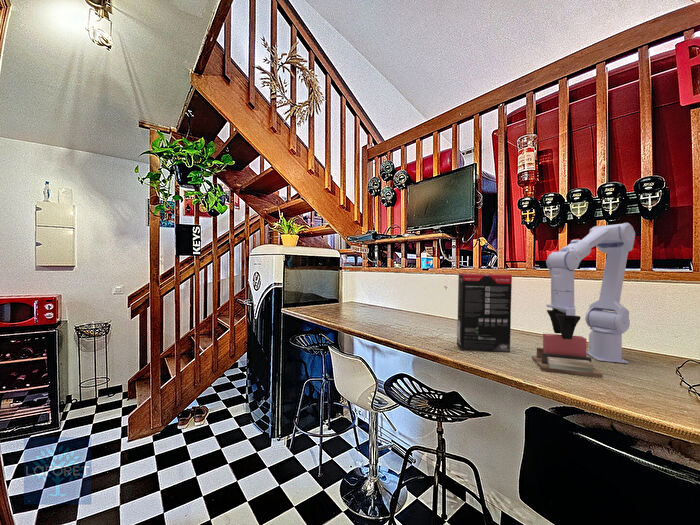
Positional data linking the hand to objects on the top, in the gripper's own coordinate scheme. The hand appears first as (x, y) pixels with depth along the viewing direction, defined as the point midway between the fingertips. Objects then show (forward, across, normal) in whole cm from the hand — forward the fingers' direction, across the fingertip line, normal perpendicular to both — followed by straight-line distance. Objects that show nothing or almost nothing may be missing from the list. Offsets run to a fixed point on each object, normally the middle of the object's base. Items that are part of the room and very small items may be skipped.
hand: (562, 335), depth 89 cm
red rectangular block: (+8, 0, 0) cm, 8 cm away
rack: (+9, +2, 0) cm, 9 cm away
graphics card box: (+9, -10, -21) cm, 25 cm away
